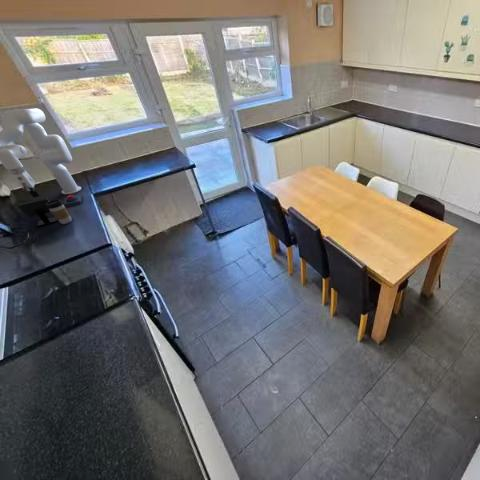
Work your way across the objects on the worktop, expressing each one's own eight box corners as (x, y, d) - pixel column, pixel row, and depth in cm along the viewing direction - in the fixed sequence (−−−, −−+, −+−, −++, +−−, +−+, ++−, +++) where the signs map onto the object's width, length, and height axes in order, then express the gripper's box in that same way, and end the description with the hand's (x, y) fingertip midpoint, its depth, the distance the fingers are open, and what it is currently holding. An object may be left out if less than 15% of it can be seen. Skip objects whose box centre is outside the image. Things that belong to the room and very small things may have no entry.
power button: (68, 197, 199) (66, 195, 198) (74, 196, 201) (72, 194, 200) (68, 199, 197) (66, 197, 196) (74, 198, 198) (72, 196, 197)
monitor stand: (39, 222, 180) (29, 208, 173) (58, 217, 184) (48, 204, 178) (38, 227, 175) (27, 213, 169) (57, 222, 179) (47, 208, 173)
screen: (29, 215, 174) (17, 204, 167) (56, 208, 180) (46, 197, 173) (29, 217, 173) (17, 205, 166) (56, 210, 180) (46, 199, 172)
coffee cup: (65, 225, 176) (51, 205, 166) (55, 224, 177) (40, 204, 168) (77, 218, 182) (64, 199, 173) (67, 217, 184) (53, 198, 174)
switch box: (66, 201, 202) (63, 196, 200) (81, 197, 206) (78, 193, 204) (66, 207, 195) (62, 202, 193) (81, 203, 199) (78, 198, 197)
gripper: (22, 172, 162) (42, 199, 173) (26, 164, 172) (45, 190, 183) (6, 175, 159) (27, 202, 170) (10, 167, 168) (30, 193, 180)
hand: (36, 196), depth 176 cm, fingers closed
